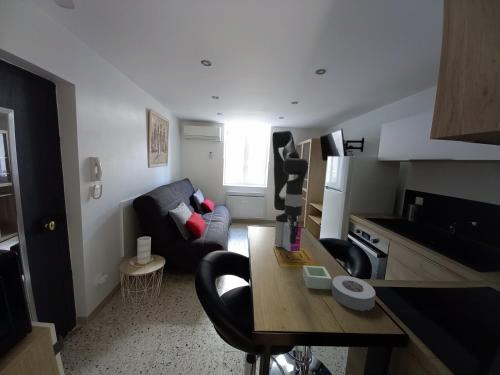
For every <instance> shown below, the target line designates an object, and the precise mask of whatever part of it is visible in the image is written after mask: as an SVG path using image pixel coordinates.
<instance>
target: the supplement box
mask: <svg viewBox="0 0 500 375" xmlns="http://www.w3.org/2000/svg"><path fill="white" fill-rule="evenodd" d="M291 227H292V226H291ZM291 227H289V223H284V235H283V248H282V249H284V250H285V251H286V252H287V253H292V252H300V248H301V238H302V237H301V236H302V235H301V234H302V226H301V225H299V224H298V235H296V243H295V244H291V243H290V237H291V234H290V233H291V230H290V228H291ZM293 232H295V230H293Z"/></svg>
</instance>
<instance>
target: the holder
mask: <svg viewBox="0 0 500 375" xmlns="http://www.w3.org/2000/svg"><path fill="white" fill-rule="evenodd" d="M302 278H303V281H304V283H305V287H306V288H307V289H317V290H329V291H332V282H333V279H332V277H331V275H330V274H329V271H328V270H327V269H326V267H325V266H317V265H302Z"/></svg>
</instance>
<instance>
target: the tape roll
mask: <svg viewBox="0 0 500 375" xmlns="http://www.w3.org/2000/svg"><path fill="white" fill-rule="evenodd" d="M376 295H377V294H376V290H375V289H374V287H373V286H372V285H370V283H368V282H366V281H365V280H362V279H360V278H358V277H353V276H349V275H337V276H335V277H334V278H333V279H332V281H331V296H332V297H333V299H334V300H336V301H337V302H338V303H339V304H340V305H342V306H345V307H347V308H349V309H352V310H354V311H359V310H360V311H361V312H365V311H364V310H368V311H371V310H373V309H374V308H375V304H376ZM373 307H374V308H373ZM372 308H373V309H372ZM370 309H371V310H370Z"/></svg>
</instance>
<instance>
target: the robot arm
mask: <svg viewBox="0 0 500 375" xmlns="http://www.w3.org/2000/svg"><path fill="white" fill-rule="evenodd" d="M271 137H272V139H271V140H272V141H271V142H272V153H273V154H272V155H273V180H274V182H273V183H274V184H273V185H274V194H273V195H274V197H273V198H274V199H273V204H274V210H276V211H283V213H281V214H278V215H276V216H275V227H274V228H275V229H274V230H275V231H274V246H275V245H276V246H277V247H276V246H275V247H276V248H278V247H282V248H281V249H284V248H283V235H284V223H289V227H291V226H292V227H291V228H290V230H291V233H290V234H291V237H290V243H291V244H295V243H296V235H298V225H299V220H298V218H297V217H301V216H302V214H303V187H304V186H303V185H304V182H305V178H306V175H307V173H308V169H309V163H308V160H307V159H305V158H300V154H299V153H298V151H297V149H296V145H295V141H294V136H293V133H292V131H291V130H277V131H274V132H273V133H272V136H271ZM280 148H283V149H282V152H281V153H282V155H281V153H280V151H279V150H280ZM290 175H292V176H295V175H296V176H297V177H296V178H295V179H290ZM289 179H290V180H289ZM284 187H285V196H281V195H280V194H281V192H282V190H283V189H284ZM293 230H295V232H293Z"/></svg>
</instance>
